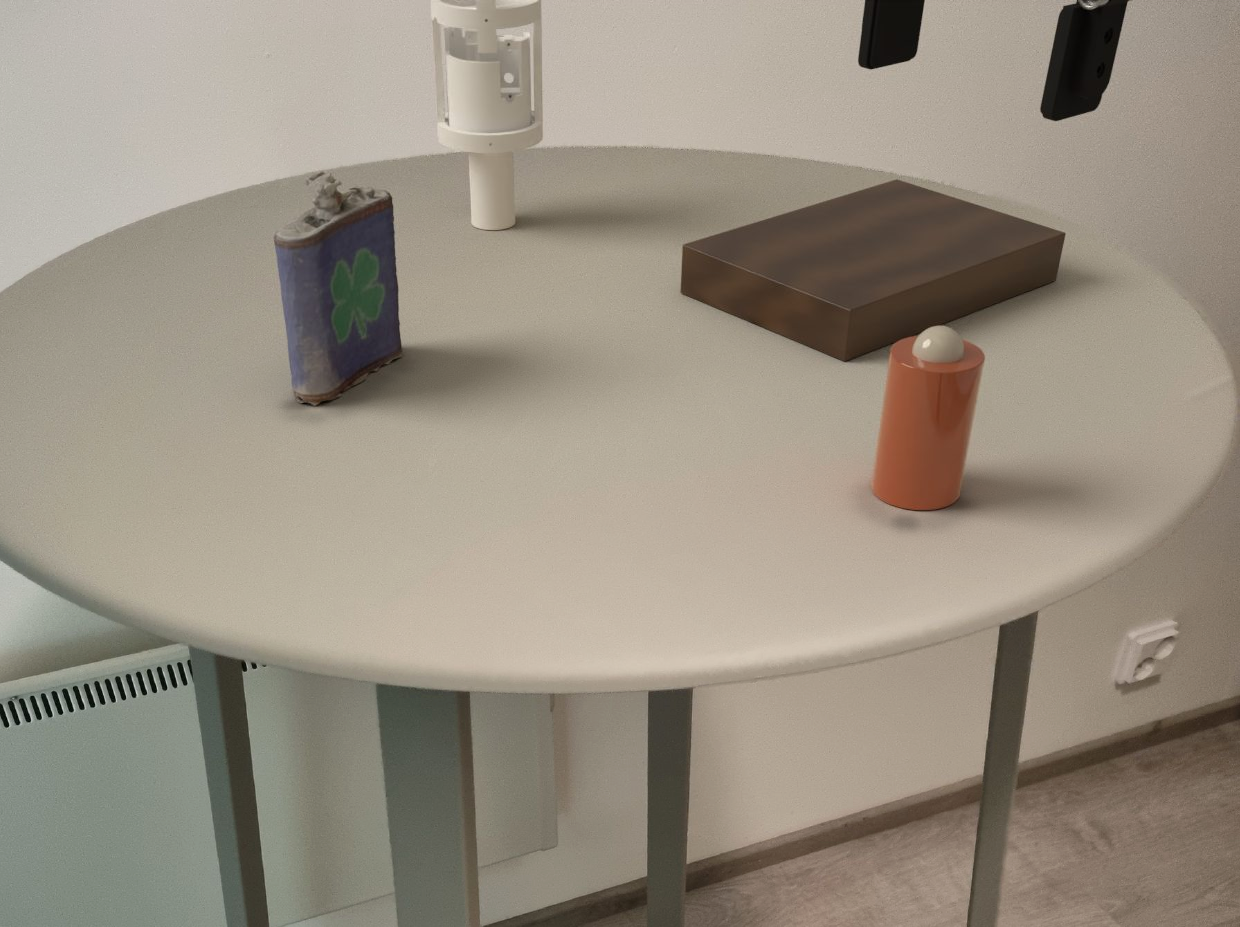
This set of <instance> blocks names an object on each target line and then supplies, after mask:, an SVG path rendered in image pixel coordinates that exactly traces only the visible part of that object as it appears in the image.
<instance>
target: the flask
mask: <svg viewBox="0 0 1240 927" xmlns="http://www.w3.org/2000/svg"><path fill="white" fill-rule="evenodd" d="M320 177H321V178H320ZM318 178H320V179H318ZM315 180H316V181H315ZM310 181H312V182H314V181H315V182H314V185H315V191H314V196H313V197H312V199H311V202H312V203H313V205H314V207H313V208H311V209H309V210H307V211H305V212H304V213H302V214H300V215H298V216H296V217H295V218H293V219H292V220H291V221H289V222H287V224H285V225H282V227H280V228H279V229H277V230H276V232H275V233H274V236H273V242H274V249H275V256H276V262H277V271H278V278H279V284H280V295H281V304H282V310H283V317H284V324H285V332H286V340H287V353H288V363H289V369H290V376H291V389H292V392H293V396H294V397H295V398H294V399H295V400H296V401H297V403H300V404H302V403H303V404H304V403H308V404H311V405H313V406H317V405H319V404H320V403H321V402H326V401H332V400H334V399H337V398H339V397H341V396H342V392H344V391H346V390H348V389H350V388H352V387H353V386H354V387H355V386H356V385H358V384H360V383H363V381H365V380H366V379H367V377H368V375H369V373H371V372H378V370H379V368H380V367H382V366H384V365H390V363H391V362H392V361H393V360H396V359H399V358H401V357H402V356H403V347H402V346H403V345H402V337H401V328H400V326H401V323H400V313H399V312H400V306H399V304H400V303H399V282H398V281H399V280H398V275H397V270H398V269H397V257H396V240H395V234H396V233H395V223H394V222H395V215H394V203H393V196H392V195H391V193H390V192H389V191H387V190H384V189H379V188H376V187H372V186H358V185H353V186H352V187H351V186H350V187H349V188H348V190H346V191H343V192H340V191H338V189H337V188H338V187H340V186H342V182H341V180H337V179H336V178H335V177H334V176H333V175H332V173H328V174H326V173H325V172H324V171H323V170H319V171H316V172H315V173H312V174H310V175H309V176H308V179H307V180H305V181H304V184H305V186H309V184H310Z"/></svg>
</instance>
